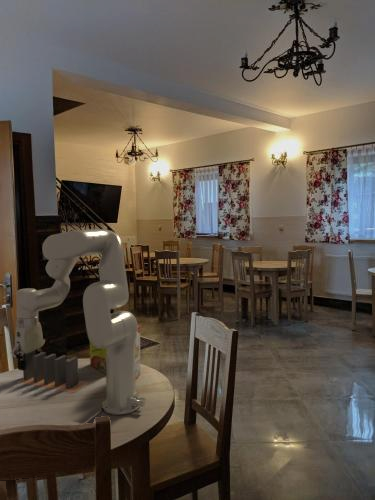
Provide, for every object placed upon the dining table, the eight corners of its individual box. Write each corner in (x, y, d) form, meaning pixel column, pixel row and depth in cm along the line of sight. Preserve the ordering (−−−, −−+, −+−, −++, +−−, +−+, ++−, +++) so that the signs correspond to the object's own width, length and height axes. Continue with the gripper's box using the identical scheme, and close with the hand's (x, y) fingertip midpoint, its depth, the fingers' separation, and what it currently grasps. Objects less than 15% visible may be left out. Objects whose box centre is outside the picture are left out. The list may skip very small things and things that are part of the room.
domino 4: (67, 381, 144) (66, 355, 144) (58, 386, 140) (57, 360, 139) (64, 380, 145) (63, 355, 144) (54, 386, 140) (54, 359, 140)
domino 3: (56, 379, 146) (56, 354, 146) (47, 384, 142) (46, 358, 141) (53, 379, 147) (52, 353, 146) (44, 384, 142) (43, 357, 142)
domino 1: (36, 375, 150) (35, 350, 149) (26, 380, 145) (25, 355, 145) (33, 375, 151) (32, 350, 150) (23, 380, 146) (22, 354, 145)
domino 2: (46, 377, 148) (45, 352, 147) (37, 382, 143) (36, 356, 143) (43, 377, 149) (42, 351, 148) (33, 382, 144) (32, 356, 143)
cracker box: (129, 392, 137) (128, 335, 135) (113, 391, 138) (112, 334, 137) (141, 377, 151) (140, 324, 149) (127, 375, 152) (126, 324, 150)
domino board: (88, 385, 143) (88, 382, 143) (73, 395, 135) (73, 392, 135) (34, 375, 153) (34, 373, 153) (17, 384, 145) (17, 381, 145)
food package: (89, 367, 162) (88, 320, 160) (91, 366, 162) (90, 319, 161) (108, 377, 150) (106, 327, 149) (110, 376, 151) (109, 327, 150)
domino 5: (78, 383, 143) (77, 357, 142) (69, 389, 138) (68, 361, 137) (74, 382, 143) (74, 356, 142) (66, 388, 138) (65, 361, 138)
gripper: (17, 327, 137) (19, 376, 138) (51, 316, 153) (53, 359, 154) (2, 325, 140) (4, 373, 141) (37, 315, 156) (38, 357, 157)
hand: (29, 365), depth 148 cm, fingers open, 7 cm apart
